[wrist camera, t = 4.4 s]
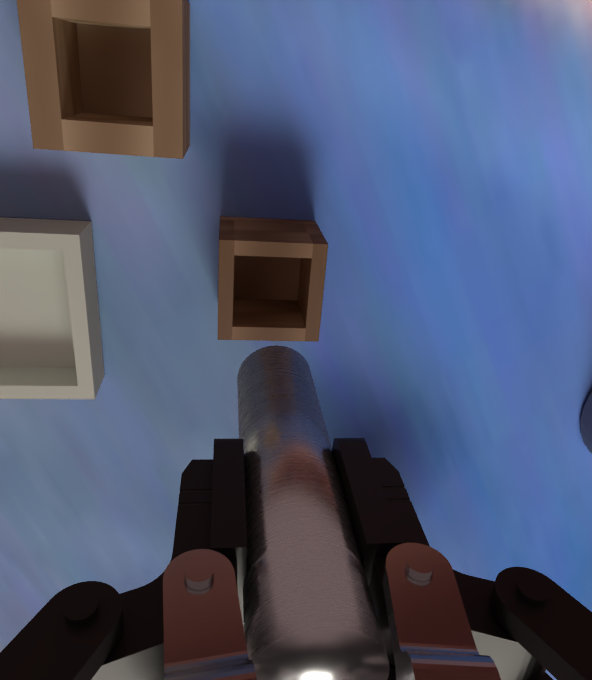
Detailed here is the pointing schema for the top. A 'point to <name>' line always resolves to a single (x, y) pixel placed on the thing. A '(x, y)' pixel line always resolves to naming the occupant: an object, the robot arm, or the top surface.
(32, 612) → the top surface
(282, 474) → the cylinder
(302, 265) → the walnut block
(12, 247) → the tray
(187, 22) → the oak block
